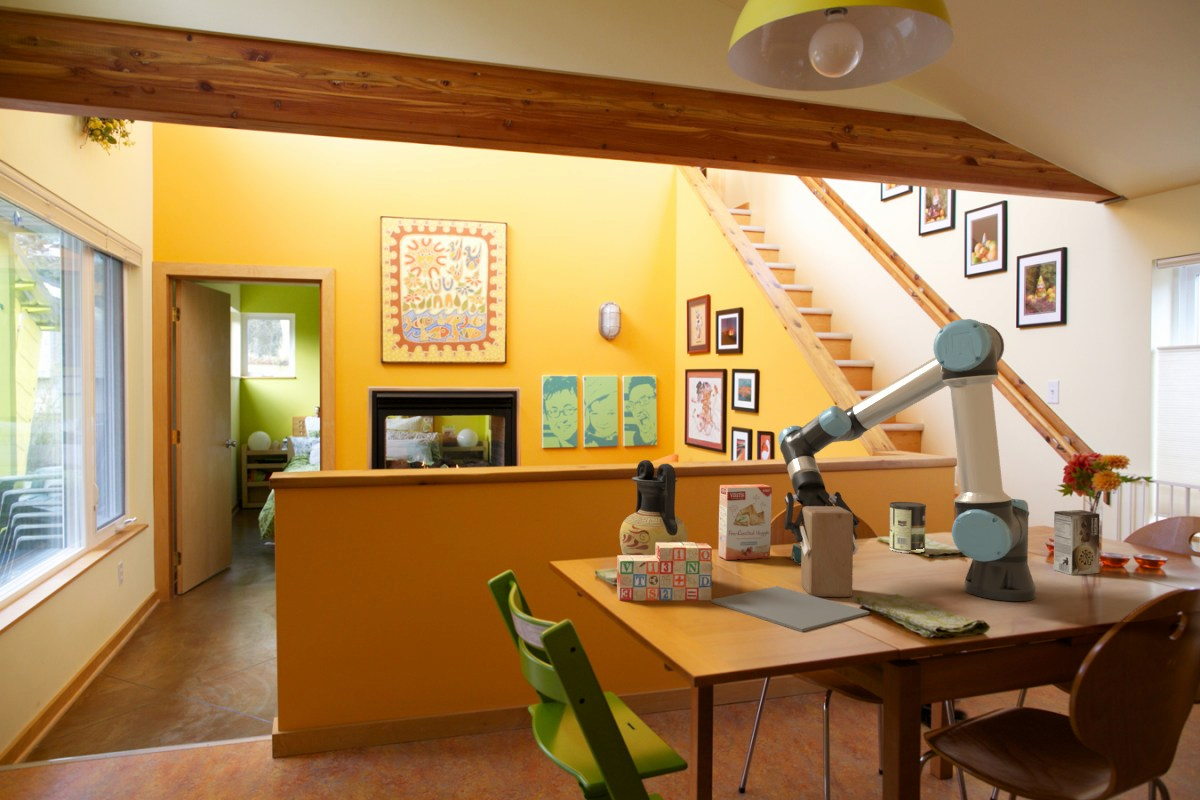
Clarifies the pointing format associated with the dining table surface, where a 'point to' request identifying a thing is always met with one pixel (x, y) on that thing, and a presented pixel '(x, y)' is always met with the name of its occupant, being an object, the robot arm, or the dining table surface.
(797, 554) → the sunglasses
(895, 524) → the coffee can
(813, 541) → the wooden block
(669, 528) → the amphora
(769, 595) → the mat
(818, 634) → the dining table surface
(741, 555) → the cracker box
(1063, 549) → the grey food carton
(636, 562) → the stack of blocks
